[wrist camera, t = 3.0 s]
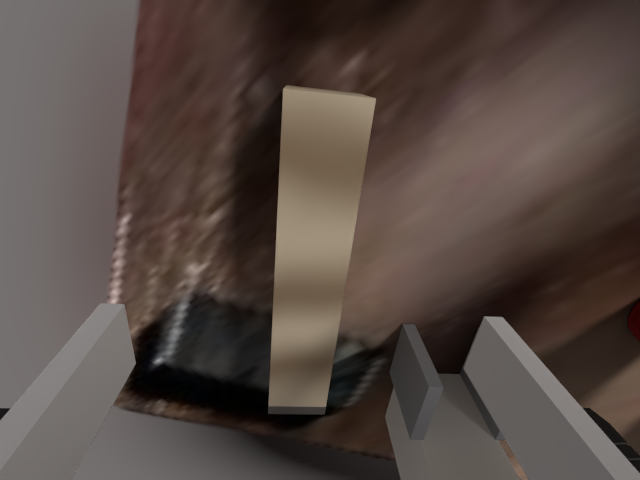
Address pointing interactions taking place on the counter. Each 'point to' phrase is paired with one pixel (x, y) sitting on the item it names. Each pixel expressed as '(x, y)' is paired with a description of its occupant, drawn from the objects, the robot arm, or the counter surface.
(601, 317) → the counter surface
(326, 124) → the rail
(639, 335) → the plastic cup
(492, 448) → the grey forked bracket
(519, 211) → the counter surface
